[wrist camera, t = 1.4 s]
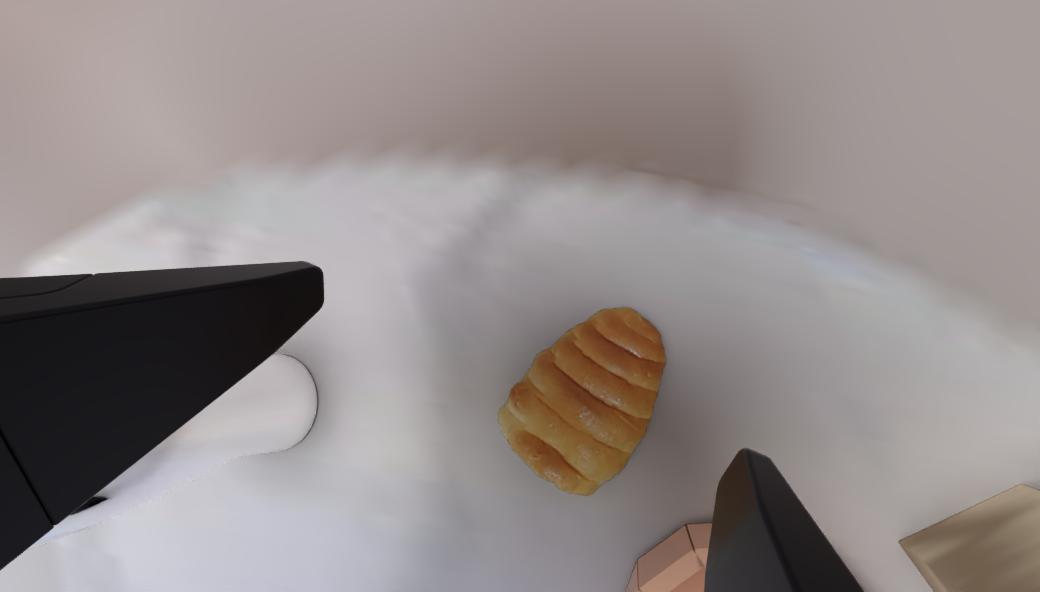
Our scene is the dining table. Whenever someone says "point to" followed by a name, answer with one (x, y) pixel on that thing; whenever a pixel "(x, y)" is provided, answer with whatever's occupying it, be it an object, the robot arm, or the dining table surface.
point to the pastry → (586, 400)
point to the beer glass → (210, 441)
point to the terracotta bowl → (674, 563)
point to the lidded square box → (983, 546)
